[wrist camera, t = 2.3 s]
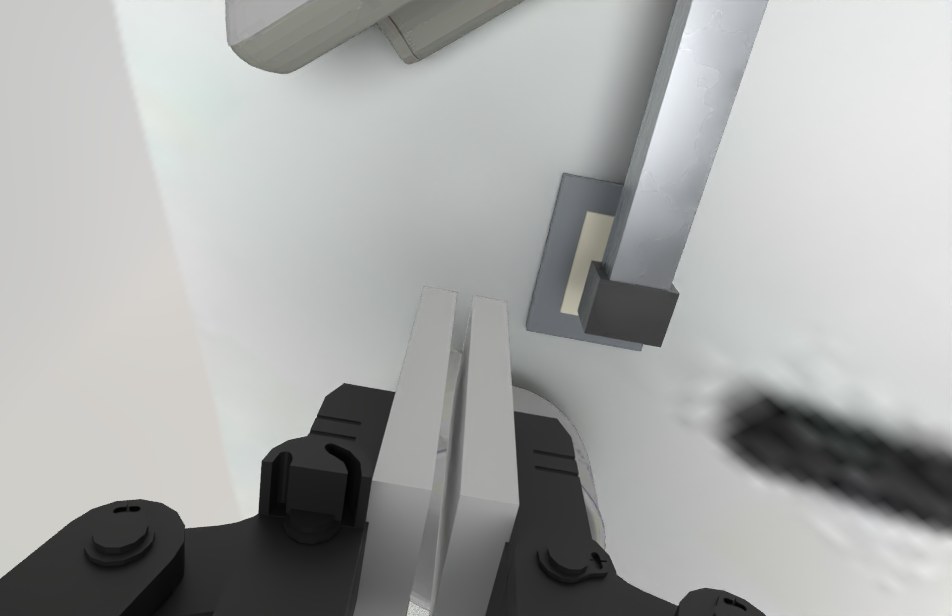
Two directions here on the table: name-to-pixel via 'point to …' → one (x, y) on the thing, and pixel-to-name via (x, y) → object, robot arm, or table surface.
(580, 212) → the label plate
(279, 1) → the digital clock
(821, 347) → the table surface
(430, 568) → the teacup
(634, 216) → the swing arm
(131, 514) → the robot arm
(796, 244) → the table surface
